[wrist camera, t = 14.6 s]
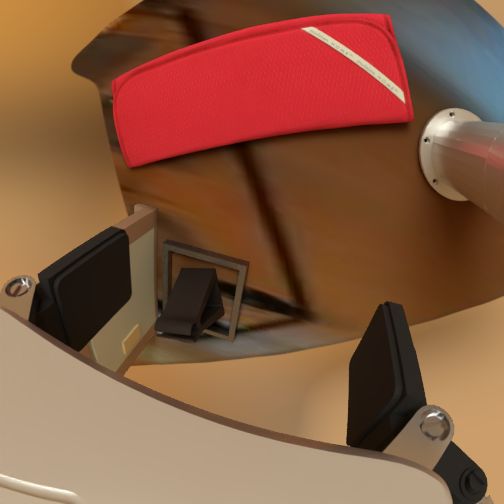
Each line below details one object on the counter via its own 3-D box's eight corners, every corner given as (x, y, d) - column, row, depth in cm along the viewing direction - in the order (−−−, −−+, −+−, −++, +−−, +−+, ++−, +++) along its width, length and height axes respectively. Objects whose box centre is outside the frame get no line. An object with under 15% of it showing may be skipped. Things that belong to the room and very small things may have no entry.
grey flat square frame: (249, 261, 45) (246, 266, 43) (235, 336, 52) (233, 341, 51) (167, 239, 47) (162, 243, 45) (166, 313, 54) (163, 318, 53)
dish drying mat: (116, 79, 37) (102, 78, 34) (385, 15, 25) (390, 6, 22) (135, 167, 43) (121, 172, 40) (409, 124, 31) (417, 125, 28)
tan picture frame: (160, 208, 45) (53, 280, 24) (160, 329, 57) (99, 412, 37) (137, 203, 45) (30, 268, 25) (142, 322, 57) (79, 399, 37)
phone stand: (182, 267, 48) (145, 307, 38) (215, 267, 47) (183, 311, 36) (194, 311, 52) (164, 355, 41) (224, 313, 50) (199, 361, 40)
